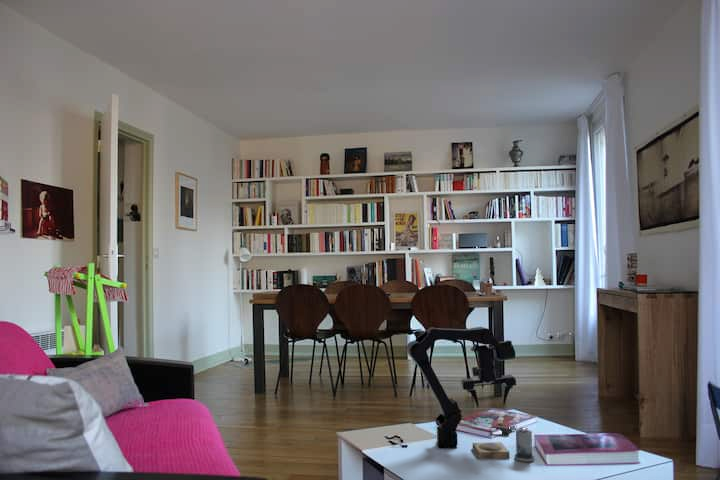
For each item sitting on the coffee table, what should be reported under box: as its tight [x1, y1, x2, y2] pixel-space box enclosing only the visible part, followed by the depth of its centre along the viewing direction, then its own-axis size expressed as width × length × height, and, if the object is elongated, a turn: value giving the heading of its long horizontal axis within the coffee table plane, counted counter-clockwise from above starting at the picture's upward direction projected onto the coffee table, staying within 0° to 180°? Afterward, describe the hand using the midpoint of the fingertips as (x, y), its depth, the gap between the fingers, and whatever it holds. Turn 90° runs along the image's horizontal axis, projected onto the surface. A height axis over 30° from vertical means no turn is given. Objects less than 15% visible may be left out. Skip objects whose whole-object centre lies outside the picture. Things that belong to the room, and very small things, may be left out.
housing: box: [514, 426, 535, 464], centre depth 180 cm, size 6×6×10 cm
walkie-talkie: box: [490, 417, 516, 436], centre depth 215 cm, size 9×4×20 cm
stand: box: [472, 441, 510, 460], centre depth 186 cm, size 10×10×2 cm
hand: (490, 406), depth 198 cm, fingers open, 9 cm apart
